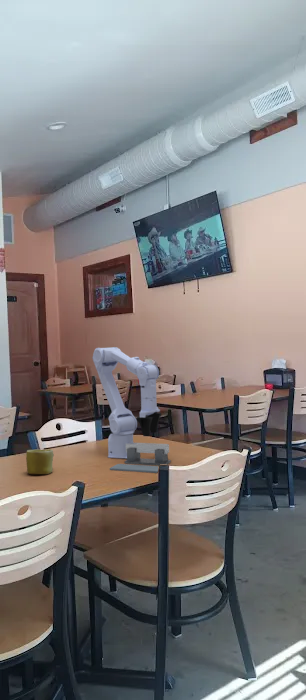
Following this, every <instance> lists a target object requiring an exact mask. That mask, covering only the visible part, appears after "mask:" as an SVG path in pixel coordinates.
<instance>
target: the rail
mask: <svg viewBox="0 0 306 700" xmlns="http://www.w3.org/2000/svg"><path fill="white" fill-rule="evenodd" d="M127 448H134V449H135V452H138V453H140V454H141V453H142V454H143V453H144V454H155V450H163V454H167V453H169V454H170V445H169V443H154V442H152V443H150V442H149V443H148V442H134V441H133V442H128V443H126V452H127Z"/></svg>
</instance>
